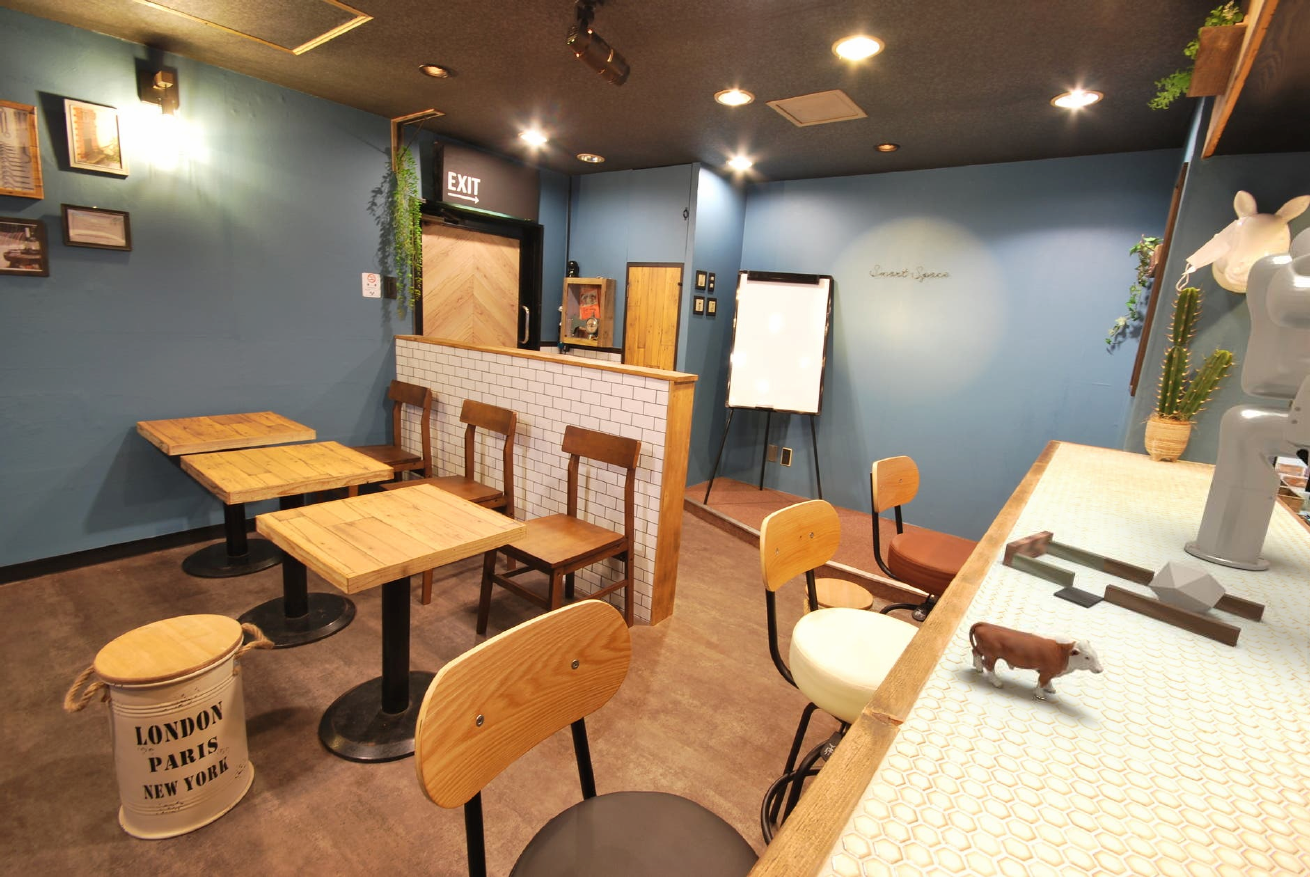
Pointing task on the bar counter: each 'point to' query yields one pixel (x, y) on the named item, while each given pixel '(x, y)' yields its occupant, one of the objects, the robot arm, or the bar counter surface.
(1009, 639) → the bull figurine
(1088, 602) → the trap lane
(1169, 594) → the die
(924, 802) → the bar counter surface
